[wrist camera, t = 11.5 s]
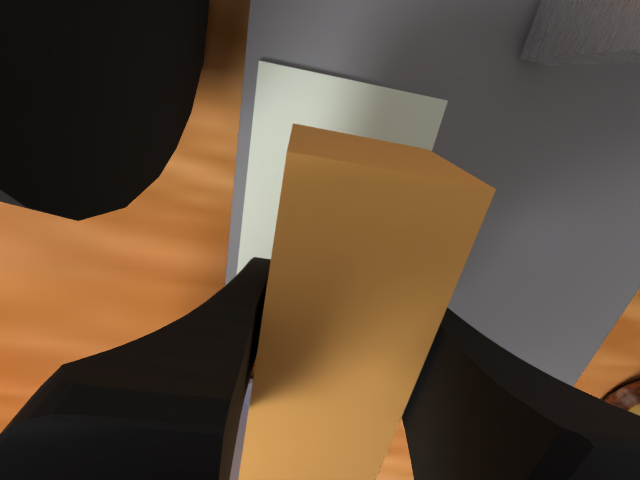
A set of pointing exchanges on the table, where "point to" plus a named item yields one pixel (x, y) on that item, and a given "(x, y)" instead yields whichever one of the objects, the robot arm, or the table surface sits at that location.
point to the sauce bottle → (626, 398)
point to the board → (463, 152)
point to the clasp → (584, 32)
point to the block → (353, 300)
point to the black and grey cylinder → (93, 98)
